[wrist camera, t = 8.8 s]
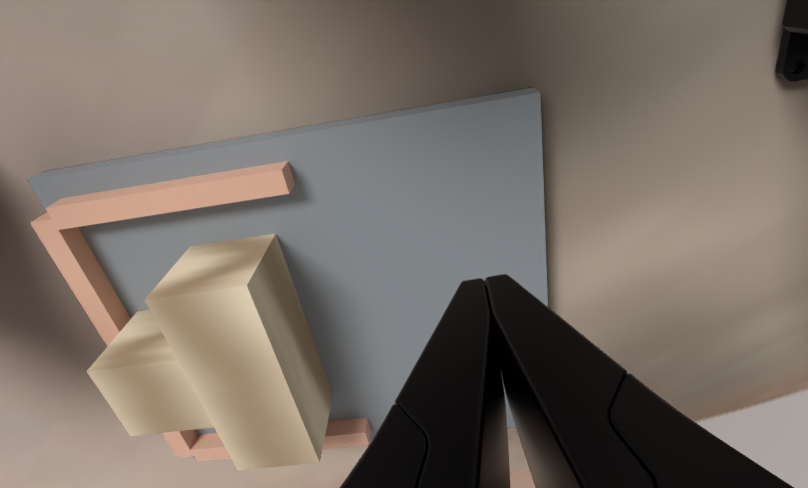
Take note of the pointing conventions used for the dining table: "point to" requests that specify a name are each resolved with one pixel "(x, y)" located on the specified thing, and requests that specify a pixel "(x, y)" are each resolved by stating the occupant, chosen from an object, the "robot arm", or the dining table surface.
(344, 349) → the board
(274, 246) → the t block
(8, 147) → the dining table surface
